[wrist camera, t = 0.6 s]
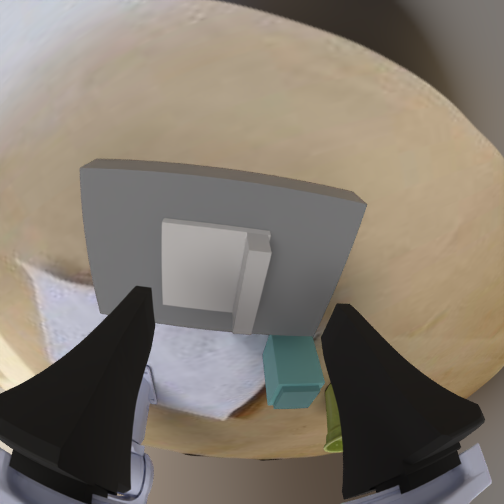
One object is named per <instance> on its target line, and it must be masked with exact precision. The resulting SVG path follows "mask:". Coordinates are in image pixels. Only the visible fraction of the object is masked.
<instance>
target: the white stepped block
mask: <svg viewBox="0 0 504 504" xmlns="http://www.w3.org/2000/svg"><path fill="white" fill-rule="evenodd" d="M270 237H271V234H270V231H267V230H260V229H252V228H244V227H237V226H229V225H221V224H212V223H204V222H195V221H187V220H178V219H169V218H164V219H163V221H162V294H163V305H171V306H178V307H186V308H194V309H203V310H212V311H221V312H231V313H233V334H246V335H251V333H252V329H253V325H254V321H255V317H256V313H257V310H258V306H259V302H260V298H261V294H262V290H263V286H264V282H265V278H266V274H267V270H268V266H269V262H270V258H271V254H272V252H271V248H270V243H269V242H270Z"/></svg>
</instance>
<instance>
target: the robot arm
mask: <svg viewBox="0 0 504 504" xmlns="http://www.w3.org/2000/svg"><path fill="white" fill-rule="evenodd" d="M154 330H155V318H154V309H153V299H152V288H151V287H143V286H135V287H134V288H133V289H132V290H131V291H130V292H129V293H128V295H127V296H126V297H125V298H124V299H123V300H122V301H121V302H120V303H119V304H118V305H117V307H116V308H115V309H114V310H113V311H112V312H111V313H110V314H109V315H108V316H107V317H106V318H105V319H104V320H103V321H102V322H101V323H100V324H99V325H98V326H97V327H96V328H95V329H94V330H93V331H92V332H91V333H90V334H89V335H88V336H87V337H86V338H85V339H84V340H82V341H81V342H80V343H79V344H78V345H77V346H76V347H74V348H73V349H72V350H71V351H70V352H68V353H67V354H66V355H65V356H63V357H62V358H61V359H59V360H58V361H56V362H55V363H54V364H52V365H51V366H49V367H48V368H47V369H45V370H44V371H42V372H40V373H39V374H37V375H35V376H34V377H32V378H31V379H29V380H27V381H25V382H24V383H22V384H20V385H18V386H16V387H14V388H11V389H9V390H7V391H5V392H3V393H1V394H0V440H1V441H2V442H3V443H5V444H6V445H8V446H9V447H10V448H12V449H13V452H12V455H11V454H9V453H8V452H6V451H5V450H3V449H1V448H0V504H146V503H147V498H148V494H149V492H150V490H151V487H152V483H153V476H154V468H153V463H152V461H151V459H150V457H149V455H148V454H146V453H144V448H145V447H144V446H142V445H140V444H141V443H142V441H143V440H144V437H145V430H146V424H147V417H148V411H149V405H150V404H157V398H156V394H155V390H154V386H153V381H152V376H151V371H150V368H149V367H147V366H146V365H147V361H148V358H149V354H150V351H151V347H152V341H153V336H154ZM321 341H322V349H323V355H324V360H325V364H326V367H327V371H328V374H329V378H330V381H331V385H332V388H333V392H334V395H335V399H336V402H337V407H338V411H339V418H340V425H341V434H342V445H343V487H342V493H343V498H344V499H348V498H352V497H356V496H359V495H363V494H366V493H369V492H372V491H375V490H376V494H373V495H370V496H366V497H363V498H360V499H357V500H353V501H349V502H345V503H341V504H469V503H470V502H471V501H472V500H473V499H474V498H475V497H476V496H477V495H478V494H480V493H481V492H482V491H483V490H484V489H485V488H487V487H488V486H489V485H490V484H491V483H492V481H491V477H490V474H489V471H488V468H487V465H486V462H485V459H484V456H483V453H482V451H481V448H480V445H479V444H478V443H477V444H475V445H474V446H472V447H470V448H469V449H467V450H466V451H464V452H462V453H461V454H459V455H458V452H457V450H459V449H460V448H461V446H460V443H459V441H461V440H462V439H464V438H465V437H467V436H468V435H469V434H471V433H472V432H473V431H475V430H476V429H477V428H479V427H480V426H481V425H482V424H483V423H484V421H485V418H484V416H483V414H482V411H481V409H480V407H479V405H478V404H476V403H473V402H471V401H469V400H467V399H464V398H462V397H460V396H458V395H456V394H454V393H452V392H451V391H449V390H447V389H445V388H444V387H442V386H440V385H439V384H437V383H436V382H434V381H433V380H431V379H430V378H428V377H427V376H426V375H424V374H423V373H422V372H420V371H419V370H418V369H417V368H415V367H414V366H413V365H412V364H410V363H409V362H408V361H407V360H406V359H405V358H403V357H402V356H401V355H400V354H399V353H398V352H397V351H396V350H395V349H394V348H393V347H392V346H391V345H390V344H389V343H388V342H387V341H386V340H385V339H384V338H383V337H382V336H381V335H380V334H379V333H378V332H377V331H376V330H375V329H374V328H373V327H372V326H371V325H370V324H369V323H368V322H367V321H366V320H365V318H364V317H363V316H362V315H361V314H360V313H359V312H358V311H357V310H356V309H355V308H354V307H353V306H351V305H350V304H336V306H335V309H334V311H333V313H332V315H331V317H330V320H329V322H328V324H327V326H326V328H325V330H324V332H323V334H322V336H321ZM117 493H119V494H122V495H124V496H117Z"/></svg>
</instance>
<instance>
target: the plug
mask: <svg viewBox="0 0 504 504" xmlns="http://www.w3.org/2000/svg"><path fill="white" fill-rule="evenodd" d="M263 364H264V374H265V383H266V393H267V402H268V405H273V406H274V409H295V408H308V407H309V406H310V404H311V403H312V402H313V400H314V399H315V398H316V396H317V395H318V394H319V392H320V389H321V388H322V386H323V385H324V383H325V381H324V377H323V373H322V370H321V366H320V362H319V359H318V355H317V351H316V348H315V344H314V340H313V337H312V336H284V335H269V337H268V340H267V343H266V346H265V349H264V352H263Z"/></svg>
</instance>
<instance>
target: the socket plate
mask: <svg viewBox="0 0 504 504" xmlns="http://www.w3.org/2000/svg"><path fill="white" fill-rule="evenodd" d="M80 187H81V201H82V213H83V222H84V231H85V238H86V245H87V252H88V258H89V264H90V269H91V274H92V279H93V284H94V289H95V293H96V298H97V302H98V306H99V310H100V313H101V314H106V315H109V314H110V313H111V312H112V311H113V310H114V309H115V308H116V307H117V305H118V304H119V303H120V302H121V301H122V300H123V299H124V298H125V297H126V296H127V295H128V293H129V292H130V291H131V290H132V289H133V288H134V287H135V286H143V287H151V288H152V299H153V309H154V318H155V323H159V324H166V325H173V326H180V327H188V328H197V329H205V330H215V331H225V332H233V313H231V312H221V311H212V310H203V309H194V308H186V307H178V306H171V305H163V294H162V221H163V219H164V218H169V219H178V220H187V221H195V222H204V223H212V224H221V225H229V226H237V227H244V228H252V229H260V230H267V231H270V234H271V237H270V242H269V243H270V248H271V252H272V254H271V258H270V262H269V266H268V270H267V274H266V278H265V282H264V286H263V290H262V294H261V298H260V302H259V306H258V310H257V313H256V317H255V321H254V325H253V329H252V333H251V334H265V335H284V336H314V334H315V332H316V330H317V328H318V326H319V324H320V321H321V319H322V317H323V315H324V313H325V311H326V308H327V306H328V304H329V302H330V299H331V297H332V295H333V293H334V290H335V288H336V286H337V283H338V281H339V278H340V276H341V274H342V271H343V269H344V266H345V264H346V261H347V259H348V256H349V253H350V251H351V248H352V246H353V243H354V240H355V238H356V235H357V232H358V229H359V227H360V224H361V221H362V218H363V215H364V212H365V209H366V207H367V204H366V203H365V202H364V201H363V200H362V199H361V198H360V197H358V196H357V195H356V194H355V193H354V192H352V191H348V190H343V189H339V188H334V187H330V186H325V185H320V184H315V183H310V182H305V181H300V180H295V179H289V178H284V177H278V176H272V175H266V174H260V173H253V172H247V171H240V170H232V169H225V168H217V167H208V166H199V165H190V164H180V163H168V162H155V161H140V160H120V159H95V160H93V161H91V162H90V163H88V164H86V165H84V166H82V167H81V168H80Z"/></svg>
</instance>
